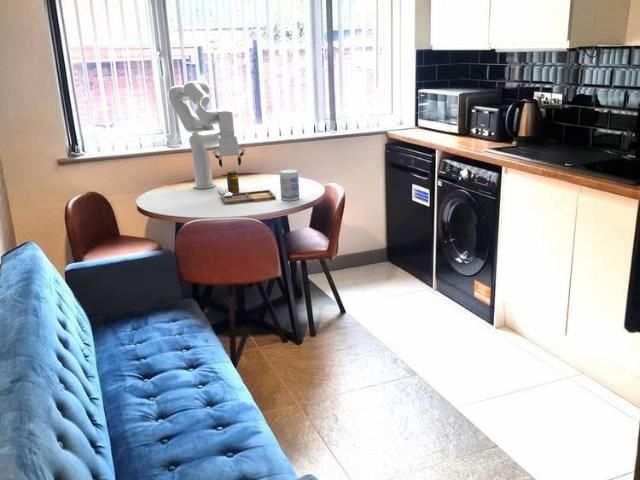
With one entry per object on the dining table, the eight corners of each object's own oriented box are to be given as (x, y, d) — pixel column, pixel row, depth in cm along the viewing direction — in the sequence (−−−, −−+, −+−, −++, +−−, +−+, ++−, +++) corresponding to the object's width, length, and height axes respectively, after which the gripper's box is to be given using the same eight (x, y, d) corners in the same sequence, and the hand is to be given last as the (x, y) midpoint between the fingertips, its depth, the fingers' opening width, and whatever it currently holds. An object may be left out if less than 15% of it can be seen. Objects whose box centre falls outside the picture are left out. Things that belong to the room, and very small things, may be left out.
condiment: (242, 193, 322) (240, 172, 318) (228, 196, 318) (226, 174, 314) (236, 191, 328) (234, 169, 324) (222, 193, 324) (220, 172, 320)
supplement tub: (295, 201, 301) (294, 173, 297) (278, 201, 304) (276, 173, 299) (302, 197, 310) (300, 169, 305) (285, 196, 313) (283, 169, 308)
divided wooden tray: (221, 197, 316) (221, 194, 315) (269, 192, 322) (269, 189, 322) (224, 204, 301) (224, 202, 300) (275, 199, 307) (275, 196, 307)
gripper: (211, 136, 307) (215, 168, 312) (244, 133, 311) (247, 165, 316) (210, 134, 314) (213, 166, 319) (242, 131, 318) (245, 163, 323)
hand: (230, 165), depth 318 cm, fingers open, 9 cm apart
